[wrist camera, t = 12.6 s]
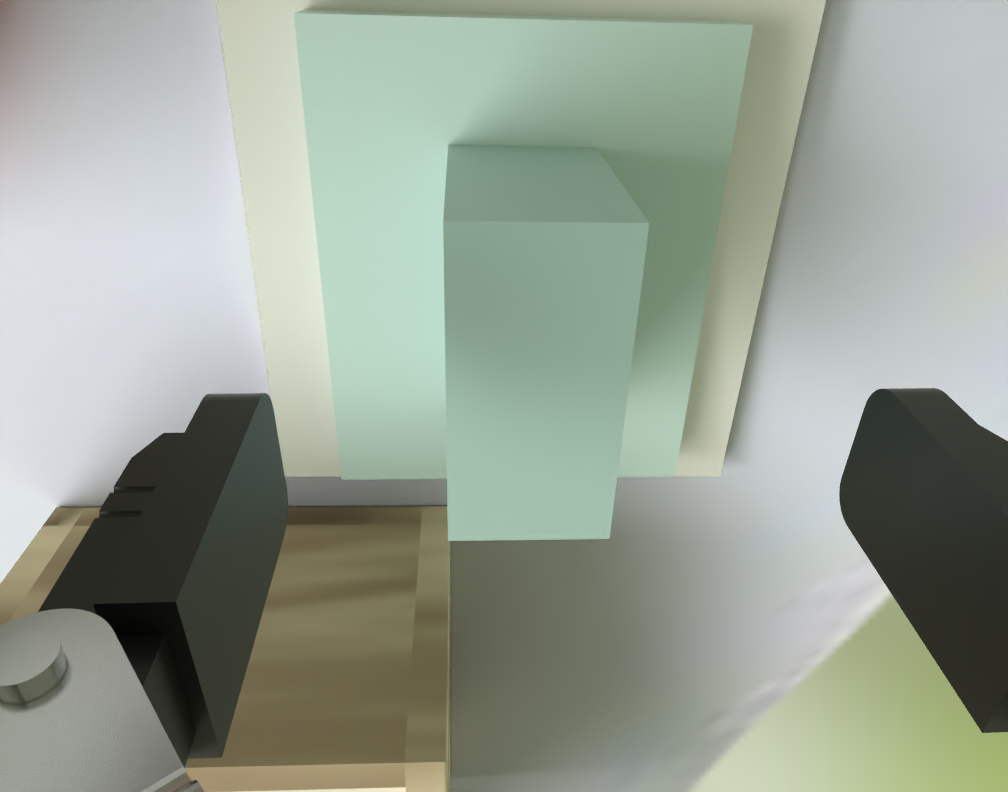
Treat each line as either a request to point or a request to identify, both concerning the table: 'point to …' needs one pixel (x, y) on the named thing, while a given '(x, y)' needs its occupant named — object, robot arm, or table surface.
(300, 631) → the crate
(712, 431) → the mat
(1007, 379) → the table surface
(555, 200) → the lid
